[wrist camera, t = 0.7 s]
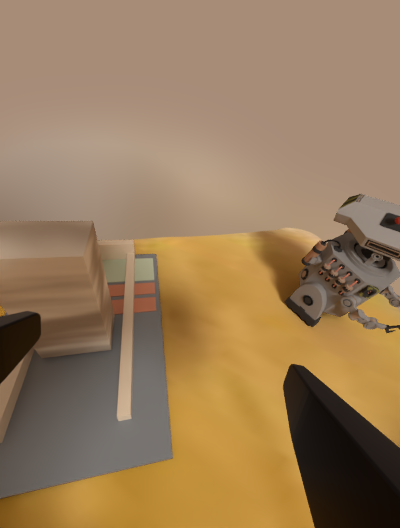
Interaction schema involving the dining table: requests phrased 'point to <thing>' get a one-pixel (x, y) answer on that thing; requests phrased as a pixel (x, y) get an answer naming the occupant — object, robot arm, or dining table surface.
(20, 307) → the cream block
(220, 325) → the dining table surface
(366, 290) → the figurine
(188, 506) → the dining table surface
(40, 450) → the track
